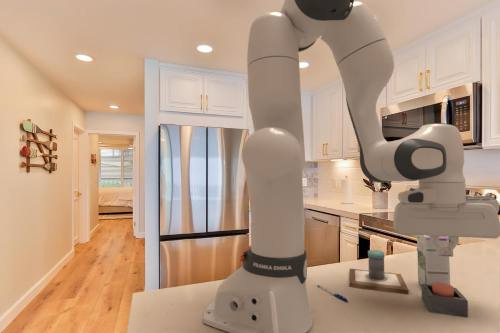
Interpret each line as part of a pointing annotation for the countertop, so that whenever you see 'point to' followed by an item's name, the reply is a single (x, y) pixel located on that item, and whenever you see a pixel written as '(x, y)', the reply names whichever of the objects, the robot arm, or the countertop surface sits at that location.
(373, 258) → the grey and teal cylinder
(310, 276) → the countertop surface
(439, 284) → the button
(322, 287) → the ballpoint pen
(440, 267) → the syrup box
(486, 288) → the countertop surface
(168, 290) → the countertop surface
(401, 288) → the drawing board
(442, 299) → the button housing
